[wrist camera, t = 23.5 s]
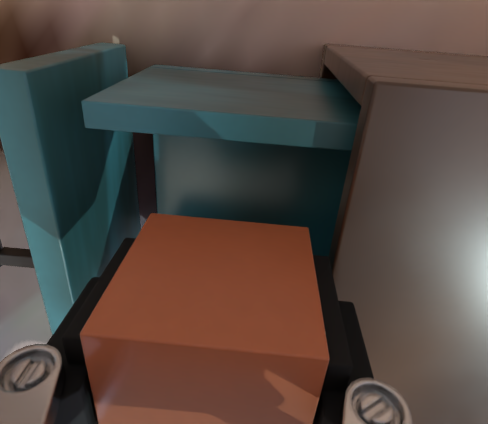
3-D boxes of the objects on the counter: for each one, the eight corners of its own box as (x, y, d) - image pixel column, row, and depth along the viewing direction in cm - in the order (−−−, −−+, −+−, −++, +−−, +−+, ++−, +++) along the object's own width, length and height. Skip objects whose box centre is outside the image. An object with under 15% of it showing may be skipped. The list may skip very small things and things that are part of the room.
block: (150, 212, 11) (77, 334, 7) (309, 226, 11) (330, 360, 7) (157, 326, 13) (106, 468, 9) (288, 339, 13) (295, 489, 9)
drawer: (44, 242, 22) (-56, 346, 16) (-6, 33, 17) (-194, 53, 10) (349, 271, 22) (383, 392, 15) (402, 66, 16) (495, 110, 9)
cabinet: (289, 264, 23) (298, 413, 15) (324, 43, 17) (374, 81, 8) (528, 287, 23) (678, 453, 14) (653, 69, 16) (1046, 135, 8)
